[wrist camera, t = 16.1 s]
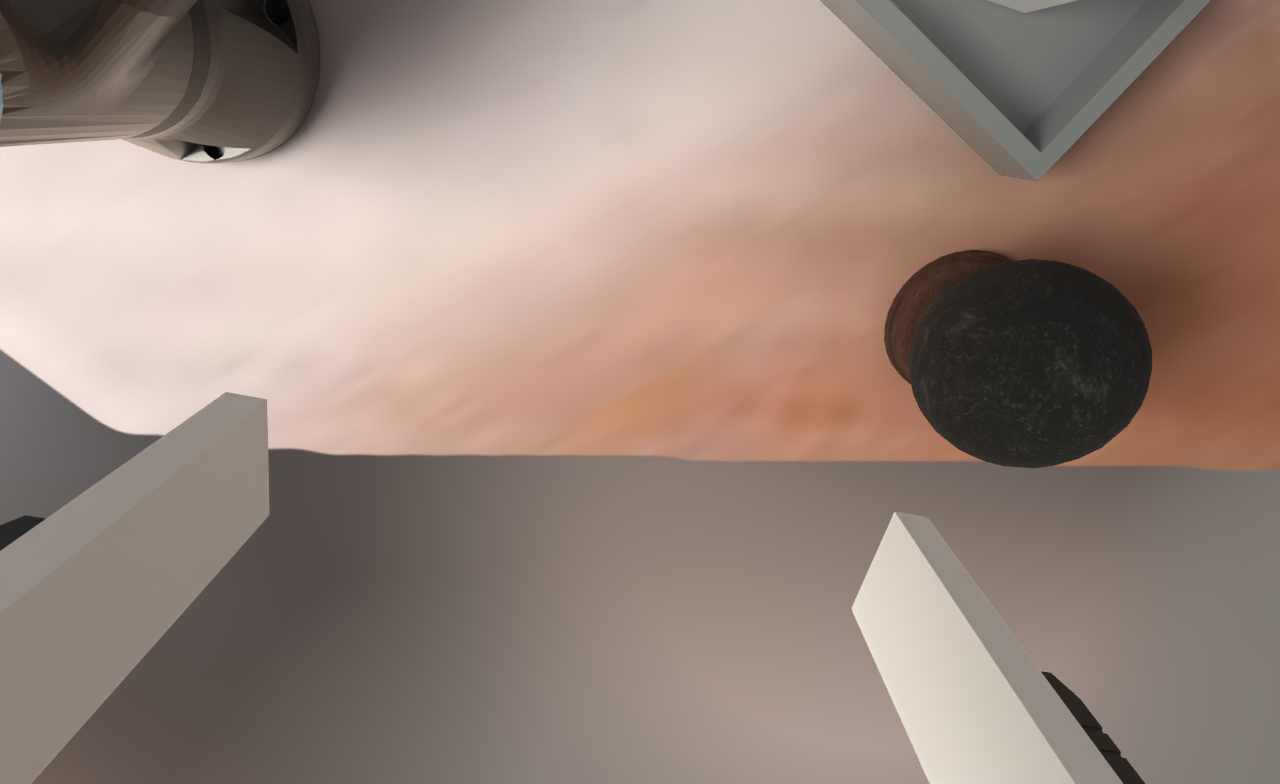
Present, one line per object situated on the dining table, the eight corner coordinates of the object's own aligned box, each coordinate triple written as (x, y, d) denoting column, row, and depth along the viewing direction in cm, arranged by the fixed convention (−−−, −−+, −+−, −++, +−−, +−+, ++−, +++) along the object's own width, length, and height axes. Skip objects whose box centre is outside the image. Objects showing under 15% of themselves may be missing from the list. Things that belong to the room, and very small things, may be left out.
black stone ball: (904, 221, 45) (1024, 270, 32) (1076, 252, 46) (1264, 312, 33) (849, 389, 51) (931, 493, 37) (1005, 413, 52) (1141, 523, 38)
